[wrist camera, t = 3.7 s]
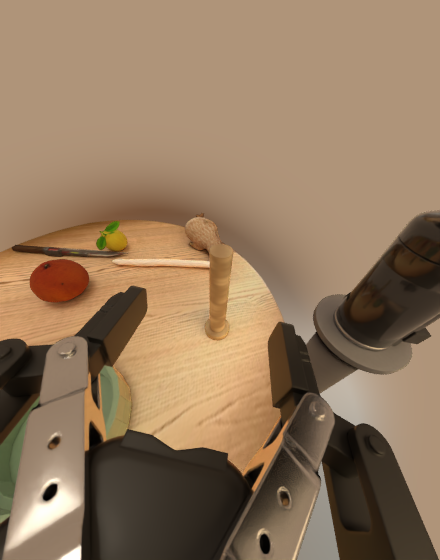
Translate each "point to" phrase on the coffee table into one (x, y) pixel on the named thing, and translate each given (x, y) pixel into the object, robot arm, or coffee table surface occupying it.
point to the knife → (63, 251)
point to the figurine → (202, 233)
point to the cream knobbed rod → (162, 262)
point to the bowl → (6, 457)
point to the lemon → (112, 238)
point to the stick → (219, 291)
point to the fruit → (58, 280)
